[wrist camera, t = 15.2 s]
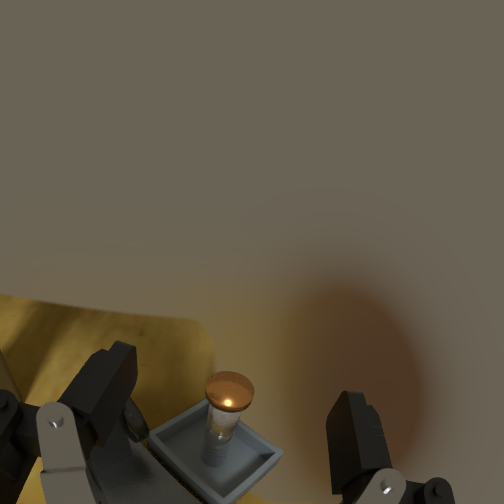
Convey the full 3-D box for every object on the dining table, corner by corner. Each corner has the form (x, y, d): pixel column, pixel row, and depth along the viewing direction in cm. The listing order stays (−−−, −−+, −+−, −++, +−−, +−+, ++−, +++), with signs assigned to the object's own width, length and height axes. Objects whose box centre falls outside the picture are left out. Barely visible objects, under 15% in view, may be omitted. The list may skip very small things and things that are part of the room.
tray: (147, 445, 30) (145, 432, 29) (207, 410, 38) (209, 395, 37) (220, 514, 23) (223, 506, 21) (277, 463, 31) (284, 452, 30)
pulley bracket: (68, 461, 23) (34, 402, 18) (130, 432, 31) (119, 370, 26) (173, 581, 13) (167, 582, 8) (238, 534, 20) (265, 508, 16)
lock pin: (189, 459, 29) (196, 390, 24) (207, 438, 33) (222, 364, 27) (219, 476, 28) (240, 414, 22) (236, 453, 31) (262, 384, 26)
